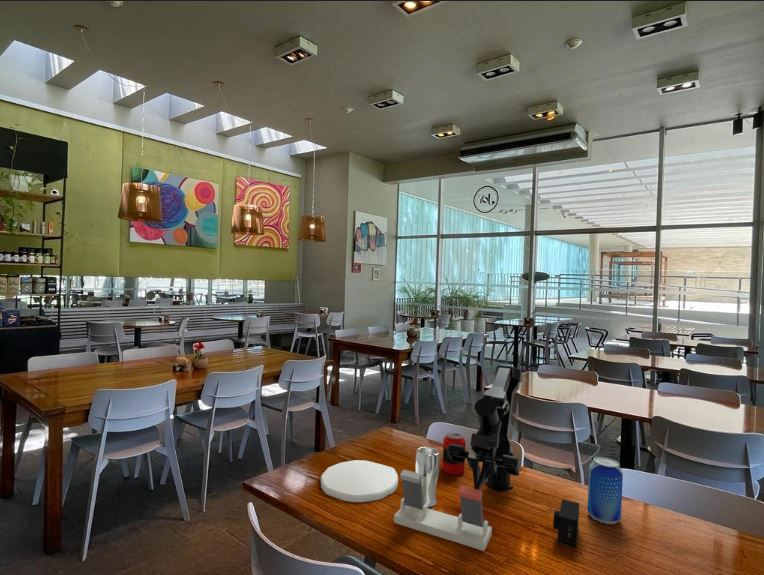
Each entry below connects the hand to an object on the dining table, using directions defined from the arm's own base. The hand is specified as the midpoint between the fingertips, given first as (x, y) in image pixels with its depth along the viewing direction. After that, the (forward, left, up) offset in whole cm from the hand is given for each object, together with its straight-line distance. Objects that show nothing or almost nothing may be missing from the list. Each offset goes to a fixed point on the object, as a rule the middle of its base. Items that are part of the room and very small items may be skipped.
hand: (476, 490), depth 111 cm
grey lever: (+11, -12, -7) cm, 18 cm away
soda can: (-18, -34, -11) cm, 40 cm away
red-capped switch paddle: (+2, +1, -7) cm, 7 cm away
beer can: (-39, +8, -11) cm, 42 cm away
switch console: (+6, -5, -11) cm, 14 cm away
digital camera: (-22, +10, -11) cm, 27 cm away
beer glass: (+3, -19, -11) cm, 22 cm away
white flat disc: (+16, -38, -12) cm, 42 cm away
